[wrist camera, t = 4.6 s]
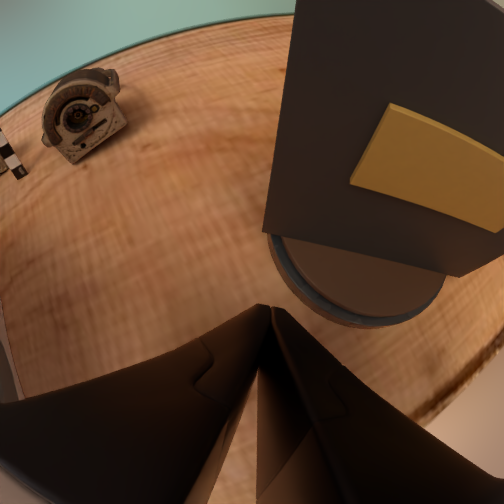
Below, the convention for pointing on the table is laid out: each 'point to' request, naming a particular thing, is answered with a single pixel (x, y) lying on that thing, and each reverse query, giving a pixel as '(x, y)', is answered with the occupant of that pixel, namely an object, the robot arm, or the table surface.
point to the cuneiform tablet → (10, 158)
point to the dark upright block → (390, 148)
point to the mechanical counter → (82, 112)
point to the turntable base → (321, 303)
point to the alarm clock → (7, 368)
